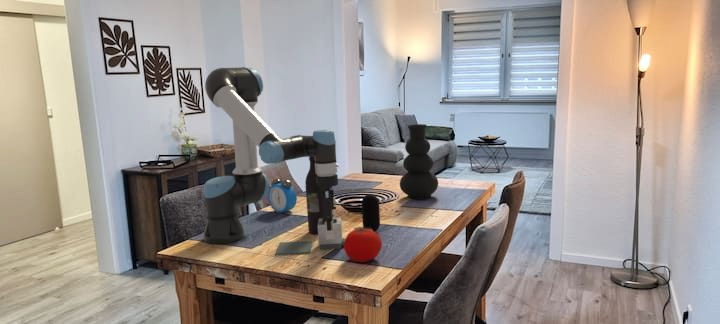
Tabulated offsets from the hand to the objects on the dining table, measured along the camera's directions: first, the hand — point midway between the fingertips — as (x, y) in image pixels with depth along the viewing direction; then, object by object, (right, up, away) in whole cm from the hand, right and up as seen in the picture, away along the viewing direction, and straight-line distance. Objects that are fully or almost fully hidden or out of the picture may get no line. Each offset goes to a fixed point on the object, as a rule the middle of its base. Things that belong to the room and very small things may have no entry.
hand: (331, 233), depth 180 cm
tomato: (+11, -7, -15) cm, 20 cm away
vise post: (+6, -4, +1) cm, 7 cm away
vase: (+39, +8, +65) cm, 76 cm away
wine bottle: (-6, -2, +19) cm, 20 cm away
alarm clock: (-25, +2, +52) cm, 58 cm away
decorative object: (+15, -2, +14) cm, 20 cm away
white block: (0, -3, +1) cm, 3 cm away
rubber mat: (-13, -5, 0) cm, 14 cm away
